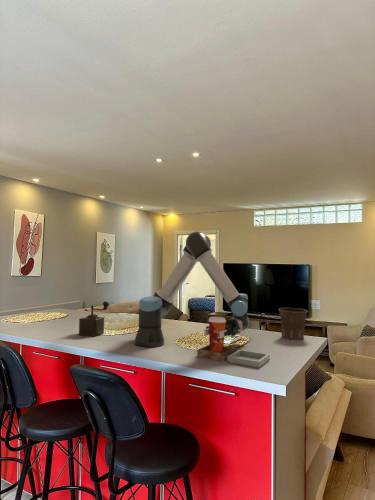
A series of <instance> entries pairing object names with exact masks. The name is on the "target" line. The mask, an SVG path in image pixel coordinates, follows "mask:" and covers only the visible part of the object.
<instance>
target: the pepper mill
mask: <svg viewBox="0 0 375 500" xmlns="http://www.w3.org/2000/svg"><path fill="white" fill-rule="evenodd" d="M102 306H103V307H102V308H94V305H93V304H91V305H90V309H91V310H90V311H91V313H90V314H88V315H87V316H85V317H82V318H79V320H78V322H79V323H78V336H81V337H92V338H95V337H98V336H102V334H105V317H103V316H99V314H95V313H94V311H101V312H103V311H106V310H108V308H109V306H110V302H109V301H103V302H102Z"/></svg>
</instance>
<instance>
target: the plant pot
mask: <svg viewBox="0 0 375 500" xmlns="http://www.w3.org/2000/svg"><path fill="white" fill-rule="evenodd" d="M278 311H279V317H280V328H281V329H280V331H281V337H282V338H285V339H288V340H295V341H297V340H303V339H304V337H305V327H306V326H305V325H306V320H307V317H308V312H309V311H308V310H307V309H304V308H297V307H296V308H295V307H281V308H278Z"/></svg>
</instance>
